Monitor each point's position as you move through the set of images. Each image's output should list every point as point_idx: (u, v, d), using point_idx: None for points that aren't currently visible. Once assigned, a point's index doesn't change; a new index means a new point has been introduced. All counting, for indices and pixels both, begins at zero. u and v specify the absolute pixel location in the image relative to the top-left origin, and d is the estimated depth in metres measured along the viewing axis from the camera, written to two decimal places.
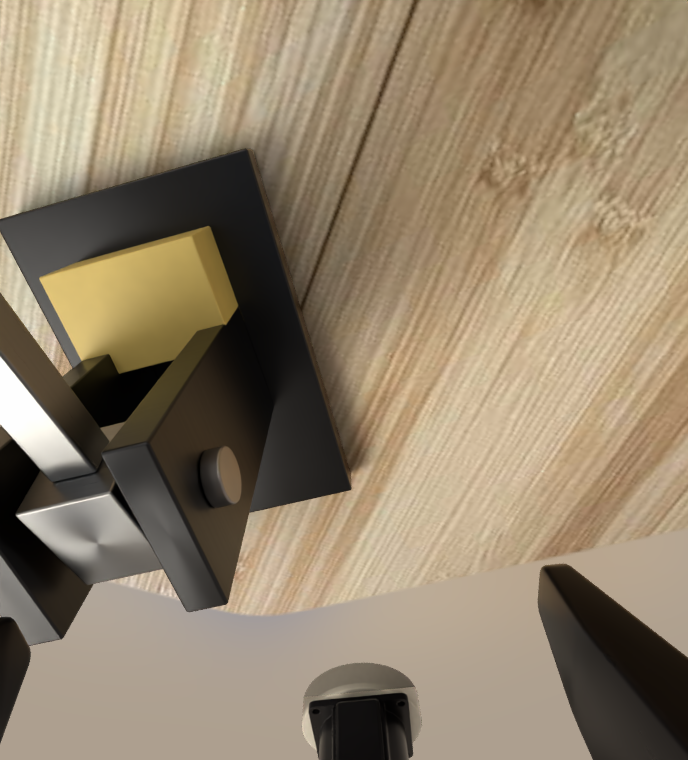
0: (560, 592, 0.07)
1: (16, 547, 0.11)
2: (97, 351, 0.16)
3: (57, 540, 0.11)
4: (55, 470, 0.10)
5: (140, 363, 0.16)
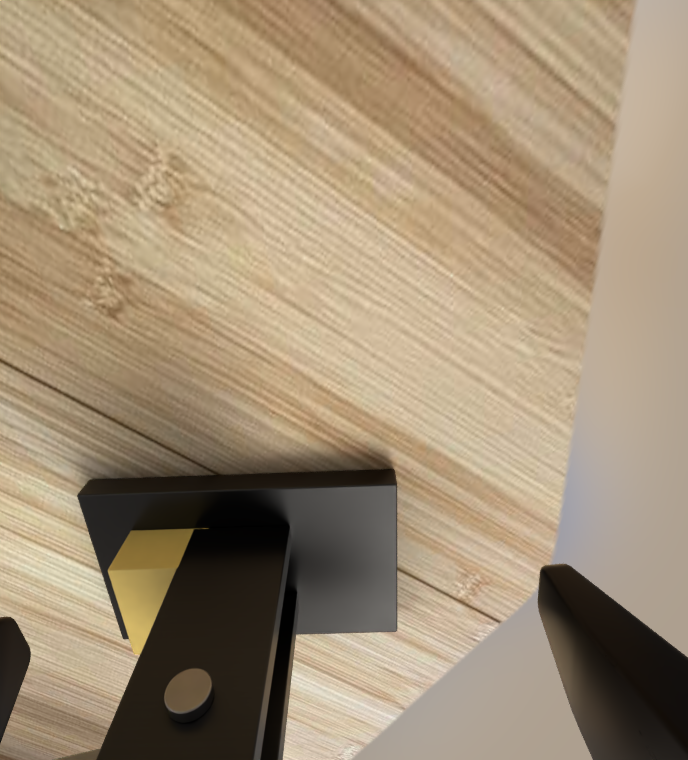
0: (560, 592, 0.07)
1: None
2: None
3: None
4: None
5: None
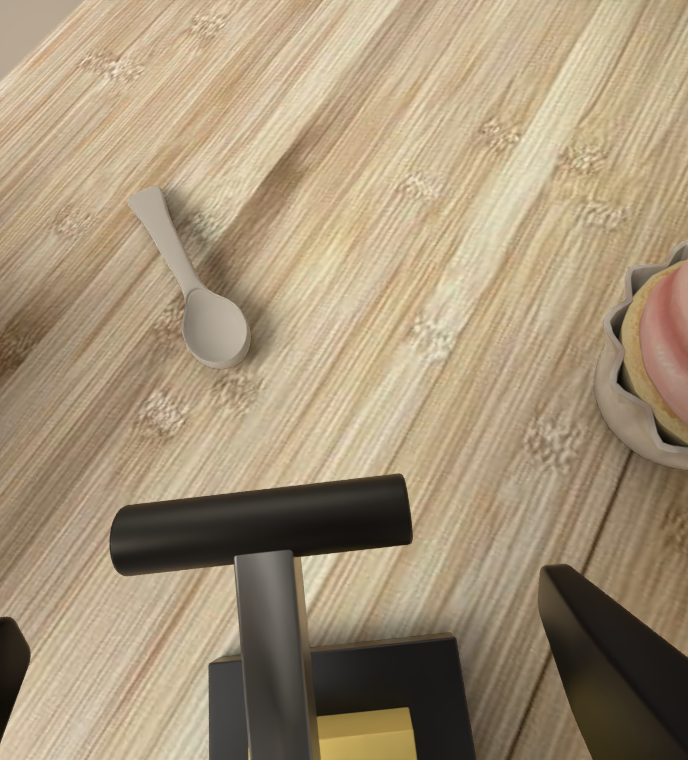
0: (560, 592, 0.07)
1: None
2: None
3: None
4: None
5: None
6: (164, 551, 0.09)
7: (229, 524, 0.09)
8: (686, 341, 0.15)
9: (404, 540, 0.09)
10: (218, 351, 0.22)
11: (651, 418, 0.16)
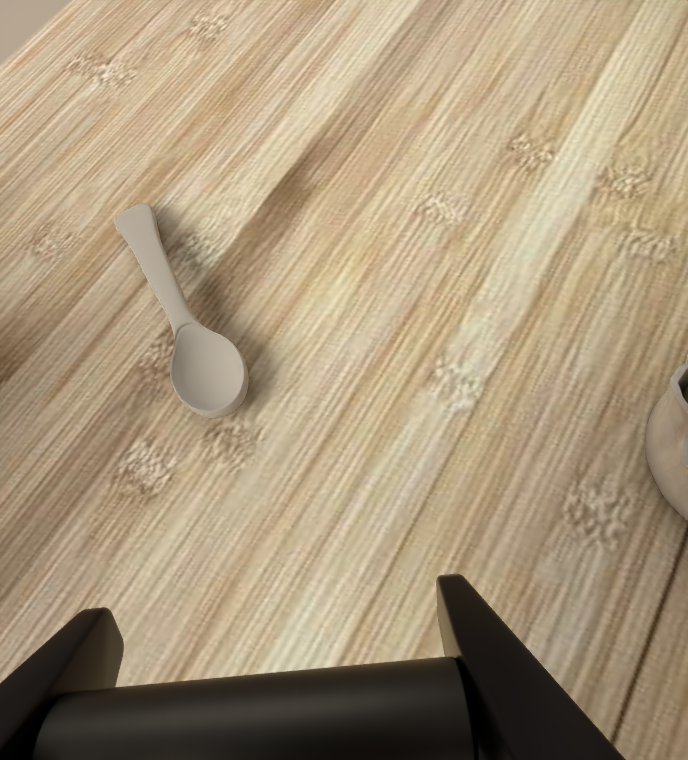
0: (445, 603, 0.07)
1: None
2: None
3: None
4: None
5: None
6: None
7: (206, 751, 0.06)
8: None
9: None
10: (211, 396, 0.20)
11: None
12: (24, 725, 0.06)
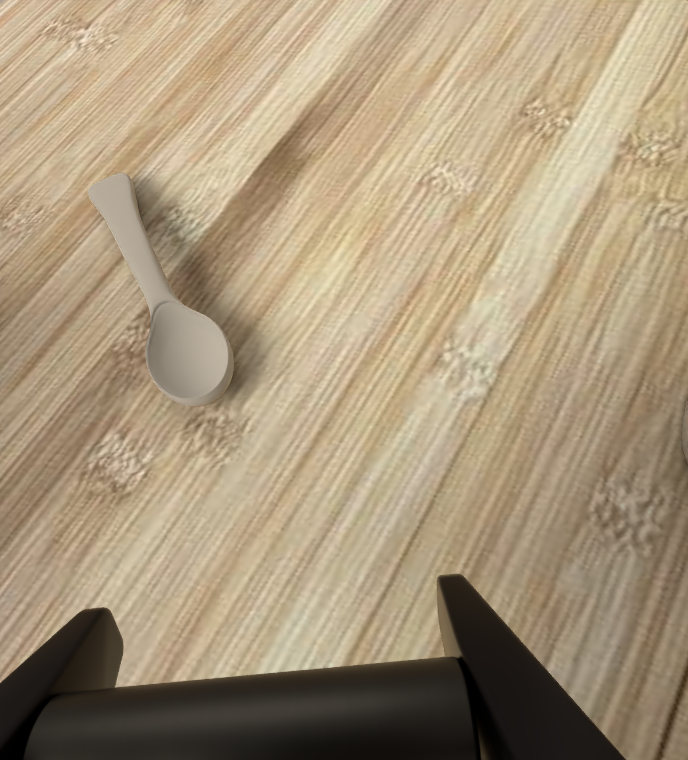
0: (446, 603, 0.07)
1: None
2: None
3: None
4: None
5: None
6: None
7: (202, 741, 0.06)
8: None
9: None
10: (191, 382, 0.17)
11: None
12: (23, 725, 0.06)
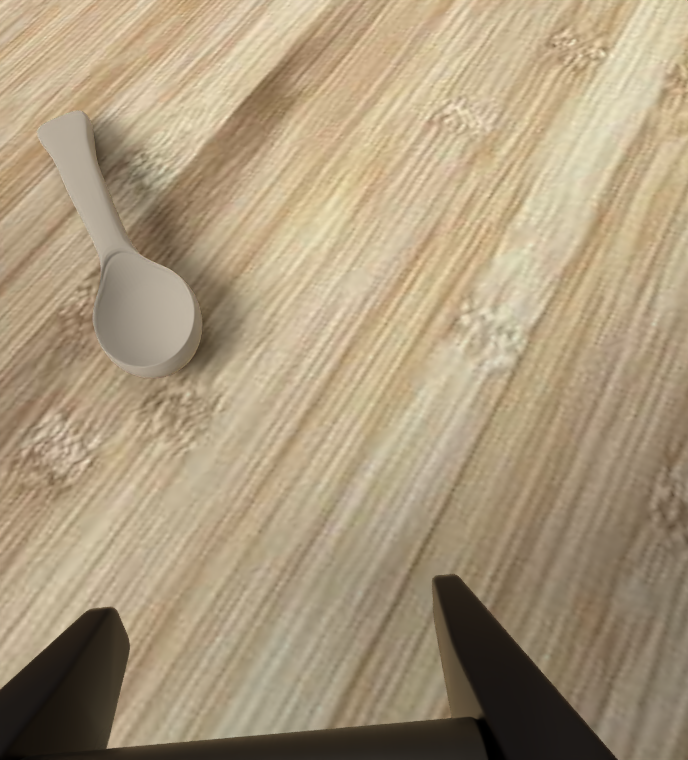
0: (441, 603, 0.07)
1: None
2: None
3: None
4: None
5: None
6: None
7: None
8: None
9: None
10: (149, 349, 0.14)
11: None
12: (33, 724, 0.06)
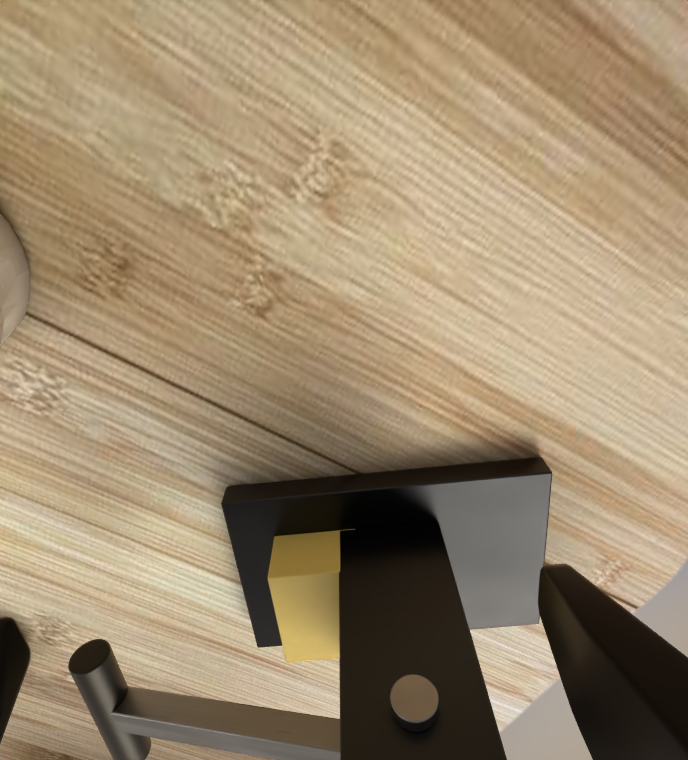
0: (560, 592, 0.07)
1: None
2: None
3: None
4: None
5: None
6: (121, 754, 0.18)
7: (102, 733, 0.17)
8: None
9: (95, 671, 0.16)
10: None
11: None
12: None
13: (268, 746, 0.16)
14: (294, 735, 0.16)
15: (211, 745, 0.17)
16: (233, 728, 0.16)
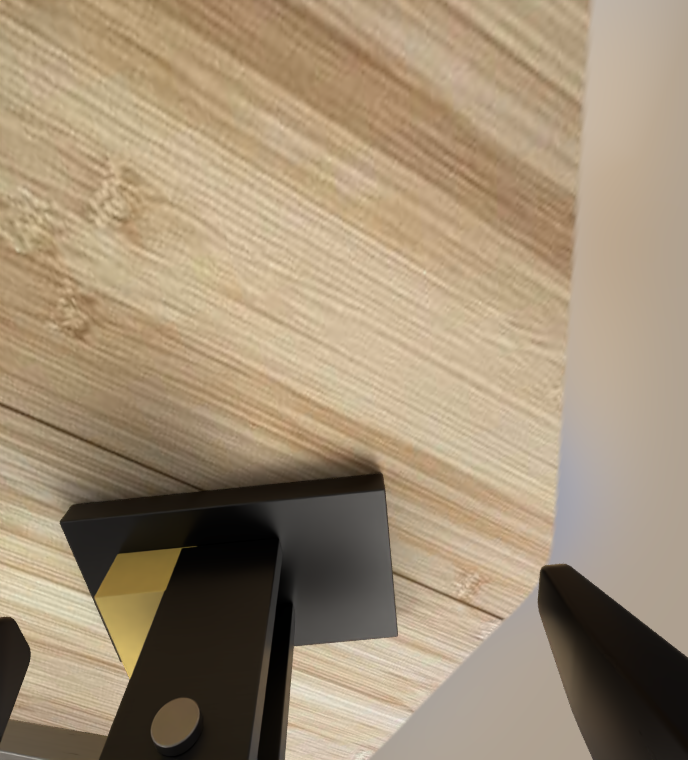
0: (560, 592, 0.07)
1: None
2: None
3: None
4: None
5: None
6: None
7: None
8: None
9: None
10: None
11: None
12: None
13: None
14: (82, 757, 0.16)
15: None
16: (26, 750, 0.16)
